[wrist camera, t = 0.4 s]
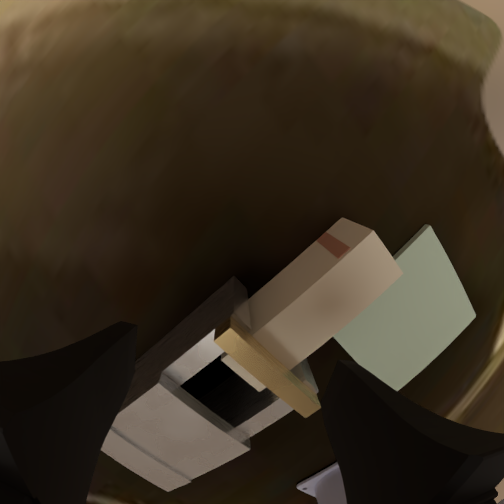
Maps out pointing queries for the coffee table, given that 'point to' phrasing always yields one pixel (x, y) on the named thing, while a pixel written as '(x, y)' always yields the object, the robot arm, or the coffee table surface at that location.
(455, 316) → the pad
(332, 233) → the beige rectangular block
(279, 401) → the frame
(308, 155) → the coffee table surface
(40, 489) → the robot arm
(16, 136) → the coffee table surface
